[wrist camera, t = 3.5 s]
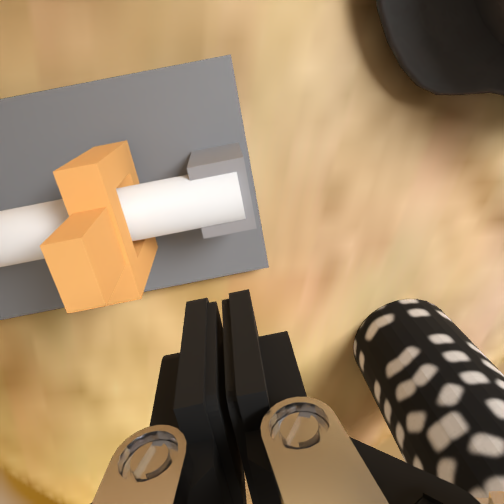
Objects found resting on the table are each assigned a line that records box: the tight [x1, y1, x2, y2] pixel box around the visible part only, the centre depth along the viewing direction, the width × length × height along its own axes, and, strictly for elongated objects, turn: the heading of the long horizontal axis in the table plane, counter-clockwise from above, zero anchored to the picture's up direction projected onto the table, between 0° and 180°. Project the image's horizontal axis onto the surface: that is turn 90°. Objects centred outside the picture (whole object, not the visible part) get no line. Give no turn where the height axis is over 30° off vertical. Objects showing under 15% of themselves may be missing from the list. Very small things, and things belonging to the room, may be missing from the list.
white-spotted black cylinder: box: [354, 299, 504, 498], centre depth 26 cm, size 8×8×20 cm
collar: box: [40, 140, 158, 314], centre depth 21 cm, size 2×7×11 cm, turn 10°
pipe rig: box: [0, 55, 269, 320], centre depth 25 cm, size 30×14×8 cm, turn 100°
